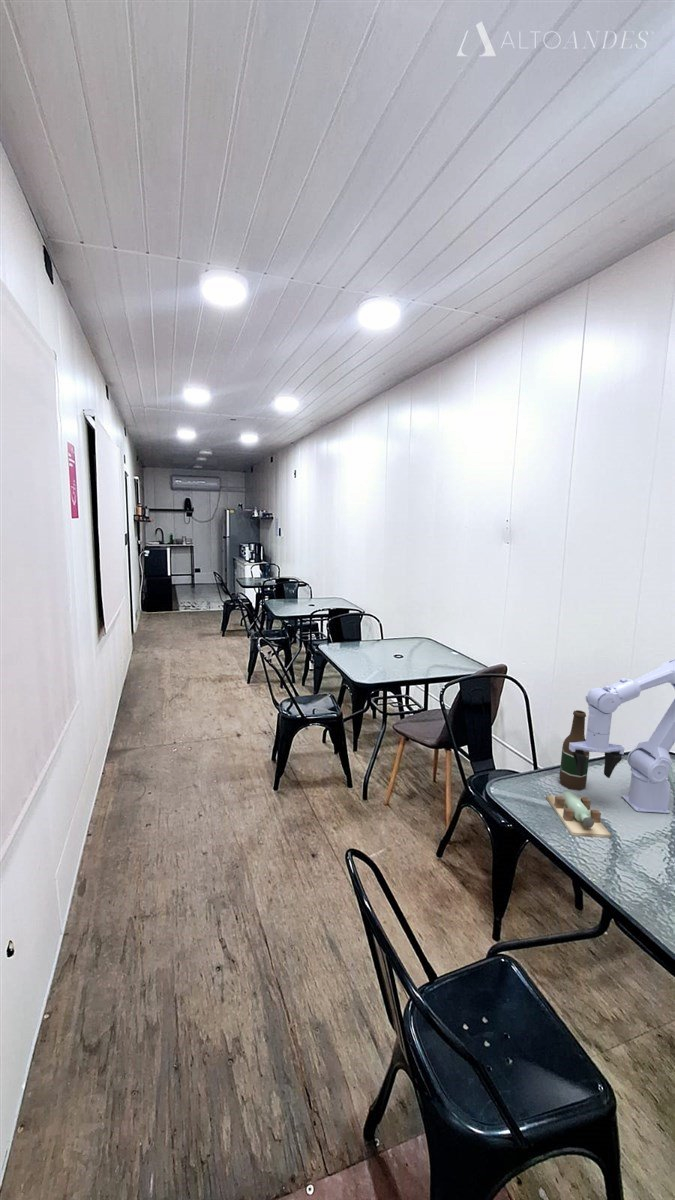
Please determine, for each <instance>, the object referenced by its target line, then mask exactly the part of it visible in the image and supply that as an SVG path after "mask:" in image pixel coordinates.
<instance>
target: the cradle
mask: <svg viewBox="0 0 675 1200" xmlns="http://www.w3.org/2000/svg"><path fill="white" fill-rule="evenodd" d="M577 797H578V798H579V799H580V801H581V802H582V803H583V804H584V806H585V807H586V808H587V809H588V811H589V812H590V814H591V816H590V818H591V819H592V820H593V821H594V825H593V826H592V827H591V828H587V827H585V825H584V824H583V822H579V821H578V820H577V819H576V818H575V817H574V811H573V810H572V809H571V808H568V807H567V806H566V805H565V803H564V801H565V799H564V798H563V797H562V795H551V794H550V795H546V794H545V799H546V800H547V802H548V803H549V804H550V807H552V809H553V811H554V812H555V813H556V815H557V814H558V815H557V816H558V817H559V819H560V820H561V822H562V823H563V825H564V826H565V828H566V829H567V830H568V832H569V834H570V835H571V836H576V837H591V836H593V838H595V837H596V838H609V839H611V838H612V833H610V831H609V830H608V829H607V828H606V827H605V825H604V824H603V823H602V822H601V817H602V813H601V812H600V810H599V809H591V800H590V798H589V797H581V796H577Z"/></svg>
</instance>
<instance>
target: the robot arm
mask: <svg viewBox="0 0 675 1200" xmlns="http://www.w3.org/2000/svg"><path fill="white" fill-rule="evenodd" d="M666 683H668V684H670V685H671V686H672V687H673V688H674V690H675V658H673V659H670V660H668V661H664V662H662V663H661V665H660V666H659V667H658V668H657V667H656V669H653V670H651V671H649V672H647V673H645V674H643V675H640V676H638V677H637V678H634V679H632V678H628V677H627V678H625V677H622V678H619V680H618V681H616V682H613V683H611V684H606V685H604V686H603V688H601V687H593V688H592V689H590V690H589V691H588V692H587V695H585V701H586V703H587V705H588V716H587V725H586V735H585V740H586V741H583V742H574V743H569V749H570V750H571V752H572V754H573V756H574V759H575V763H576V768H577V773H578V775H579V776H583V771H584V764H585V761H586V758H587V757H586V756H585V755H584V753H583V751H588V752H589V753H590V752H592V753H594V752H595V753H604V766H603V767H604V768H603V775H604V776H605V777H606V778H607V779H610V778H611V775H612V774H613V771H614V769H615V768H616V766H617V765H618V764H619V763H620V762H621V761H622V756H621V755H625V754H624V753H625V747H624V746H623V745H621V744H614V743H610V742H609V741H610V736H611V735H610V734H611V725H612V716H613V713H614V712H616V711H617V709H618V707H619V706H620V707H621V705H622V704H624V703H626V702H629V701H631V700H634V699H636V698H639V697H640V694H641V692H643V691H645V690H648V689H651V688H654V687H657V686H660V685H664V684H666ZM674 745H675V698H674V699H673V701H672V702H671V704H670V706H669V707H668V709H667V710H666V711H665V713H664V715H663V717H662V718H661V720H660V721H659V723H658V724H657V726H656V728H654V731H653V732H652V734H651V736H650V737H649V738H648V740H647V741H642V742H639V743H638V744H637V745H636V747H634V748H633V749H632V750H630V752H629V753H628V755H627V758H626V762H627V763H628V765H629V766H630V771H631V777H630V784H629V790H628V791H629V792H628V794H627V795H626V794H623V795H621V798H622V799H623V800H624V801H626V803H627V804H629V806H631V808H633V810H634V811H635V812H641V813H642V812H643V813H646V812H647V813H661V814H670V813H671V812H670V810H669V805H670V798H671V792H672V791H671V790H672V789H671V785H670V783H669V781H668V779H667V778H668V776H669V774H670V769H671V767H672V764H673V760H672V758H671V755H670V751H671V749H672V748H673V746H674Z"/></svg>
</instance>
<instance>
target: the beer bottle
mask: <svg viewBox="0 0 675 1200" xmlns="http://www.w3.org/2000/svg"><path fill="white" fill-rule="evenodd" d="M572 714H573V718H572V723H571V730H570V732H569V734H568V735H567V736H566V738H564V740H563V742H562V748H561V749H562V750H561V758H560V768H559V782H560V785H561V786H564V787H565V788H567V789H569V790H574V791H581V790H583V789H585V788H586V786H587V779H588V770H589V763H590V761H589V760H590V752H588V751H583V753H584V755H585V756H586V757H587V758H586V761H585V764H584V771H583V776H579V775H578V773H577V768H576V763H575V759H574V756H573V754H572V752H571V750H570V749H569V743H574V742H583V741H586V735H585V729H586V728H585V727H586V725H585V724H586V723H585V722H586V717H587V713H586V712H585V711H583V710H579V709H575V710H573V713H572Z"/></svg>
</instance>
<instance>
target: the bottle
mask: <svg viewBox="0 0 675 1200" xmlns="http://www.w3.org/2000/svg"><path fill="white" fill-rule="evenodd" d="M561 796H562V797H563V798H564V799H565V801H564V803H565V805H566V806H567V807H568V808H571V809H572V810H573V811H574V817H575V818H576V819H577V820H578V821H579V822H583V824H584V825H585V827H587V828H591V827H592V826H593V825H594V821H593V820H592V819H591V818H590V816H591V814H590V812H589V811H588V809H587V808H586V807H585V806H584V804H583V803H582V802H581V801H580V799H579V798H578V797H579V796H578V795H576V794H575V792H573V791H572V790H566V791H564V792H563V793H562V795H561Z"/></svg>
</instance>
